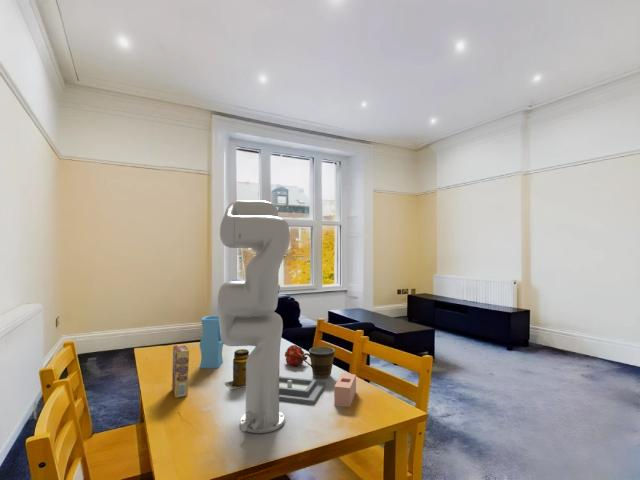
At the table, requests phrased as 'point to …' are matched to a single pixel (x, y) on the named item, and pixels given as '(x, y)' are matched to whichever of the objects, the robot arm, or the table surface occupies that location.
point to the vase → (211, 343)
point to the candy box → (180, 371)
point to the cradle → (300, 389)
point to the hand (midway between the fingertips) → (265, 310)
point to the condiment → (239, 369)
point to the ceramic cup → (321, 361)
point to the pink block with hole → (345, 390)
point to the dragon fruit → (294, 355)
